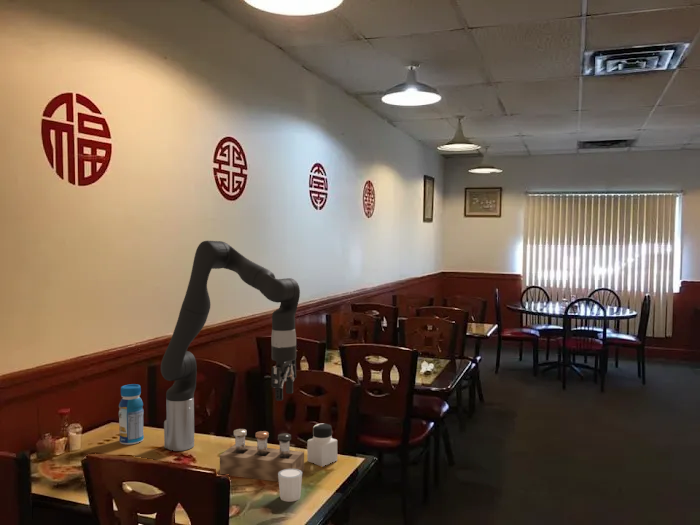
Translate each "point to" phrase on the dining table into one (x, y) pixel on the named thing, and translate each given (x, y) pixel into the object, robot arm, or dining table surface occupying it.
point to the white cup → (290, 484)
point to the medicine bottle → (322, 446)
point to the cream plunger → (240, 440)
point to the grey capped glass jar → (284, 445)
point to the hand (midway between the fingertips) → (284, 396)
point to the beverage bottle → (131, 415)
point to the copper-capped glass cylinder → (262, 443)
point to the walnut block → (259, 463)
